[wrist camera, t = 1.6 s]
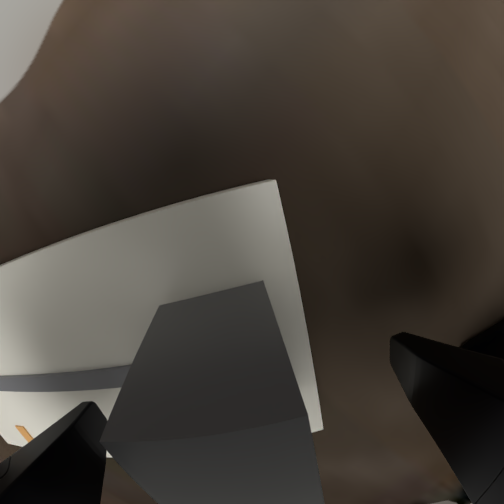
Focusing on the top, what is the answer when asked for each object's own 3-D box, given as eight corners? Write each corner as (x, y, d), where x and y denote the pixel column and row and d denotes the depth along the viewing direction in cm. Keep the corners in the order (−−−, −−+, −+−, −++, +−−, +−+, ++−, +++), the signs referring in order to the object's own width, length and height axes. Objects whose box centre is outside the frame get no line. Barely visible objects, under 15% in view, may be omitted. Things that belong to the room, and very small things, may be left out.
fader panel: (268, 179, 9) (277, 179, 8) (314, 406, 12) (324, 432, 10) (-60, 292, 9) (-77, 303, 7) (16, 429, 12) (6, 445, 10)
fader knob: (263, 280, 8) (307, 415, 3) (293, 406, 9) (328, 526, 5) (159, 305, 8) (99, 441, 3) (211, 423, 9) (210, 544, 4)
